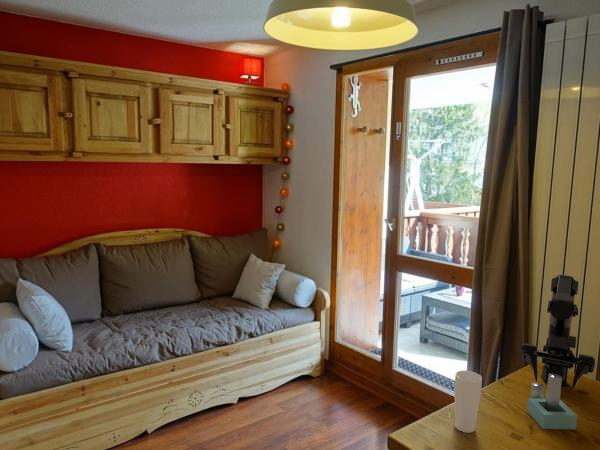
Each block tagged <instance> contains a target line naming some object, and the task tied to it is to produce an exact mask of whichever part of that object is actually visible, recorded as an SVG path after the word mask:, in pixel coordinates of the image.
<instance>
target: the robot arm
mask: <svg viewBox="0 0 600 450" xmlns="http://www.w3.org/2000/svg"><path fill="white" fill-rule="evenodd" d="M579 282H580V281H577V280H576V279H574V276H572V275H565V274H557V275H556V277H553V278H551V282H550V292H552V295H551V300H550V299H548V303H547V309H546V311H547V312H546V313H549V324H548V335H547V338H546V340H545V341H546V342H545V344H544V345H543V348H542V350H540V349H538V346H537V345H535V344H530V343H525V342H524V343H523V344H522V346H521V351H520V352H521V354H520V355H521V359H523V360H525V362H526V363H529V364H530V367H531V369H532V373H533V378H534V381H535V383H538V358H541V359H542V360H541V364H543V366H542V373H541V375H540V378H541V379H542V380H544V382H546V383H548V374H557V375H560V376H561V377H562V384H561V387H563V386H567V387H569V386H570V383H569V382H568V371H569V369H570V370H571V369H572V368H574V365H576V368H575V372H574V374H573V375H574V376H573V380H572V383H571V385H572V386H571V390H572V391H574V390H575V388H576V386H577V384H578V382H579V381H580V379H581V378H582V376H583V375H588V373H594V369H595V367H596V359H595V357H594V356H593V355H587V354H582V353H579V355H578V357H575V354H574V352H573V349H576V346H577V336H572V335H571V329H572V321H573V318H576V316H579V308H578V305H577V304H576V303H575V298H576V296H578V293H579ZM571 349H572V350H571Z"/></svg>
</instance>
